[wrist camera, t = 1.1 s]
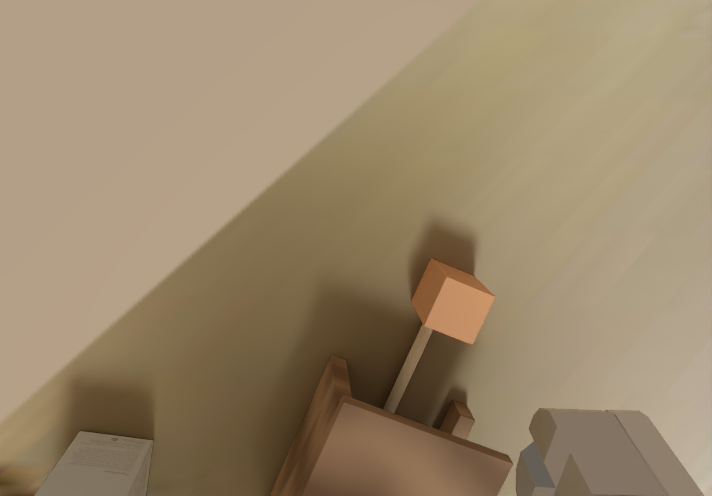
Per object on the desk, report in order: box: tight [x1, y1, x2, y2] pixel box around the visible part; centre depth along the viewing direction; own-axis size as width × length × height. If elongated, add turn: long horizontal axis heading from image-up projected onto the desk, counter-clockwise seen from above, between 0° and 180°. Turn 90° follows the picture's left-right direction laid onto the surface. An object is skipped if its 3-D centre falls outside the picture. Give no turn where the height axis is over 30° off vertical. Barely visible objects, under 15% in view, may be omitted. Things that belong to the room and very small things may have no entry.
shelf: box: [270, 355, 513, 496], centre depth 44 cm, size 14×11×10 cm
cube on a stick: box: [383, 259, 495, 413], centre depth 45 cm, size 21×7×6 cm, turn 157°
